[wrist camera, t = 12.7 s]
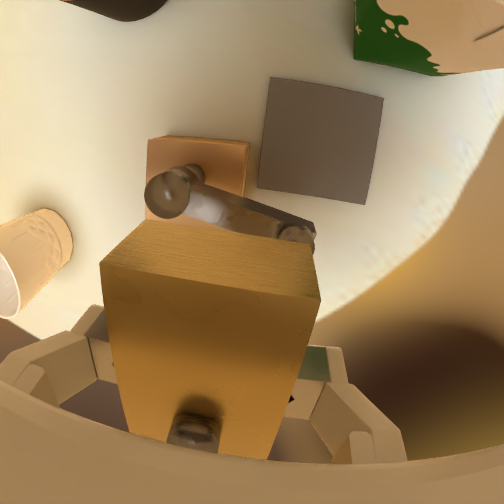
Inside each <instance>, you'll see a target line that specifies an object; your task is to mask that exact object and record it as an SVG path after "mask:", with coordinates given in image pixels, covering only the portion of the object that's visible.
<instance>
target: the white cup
mask: <svg viewBox="0 0 504 504" xmlns="http://www.w3.org/2000/svg"><path fill="white" fill-rule="evenodd" d="M72 249H73V243H72V237H71V232H70V230H69V228H68V226H67V224H66V222H65V221H64V220H63V219H62V218H61V217H60V216H59V215H58V214H57V213H56V212H55V211H52V210H49V209H46V208H44V209H40V210H37V211H34V212H32V213H30V214H27V215H23V216H20V217H18V218H16V219H13V220H11V221H9V222H7V223H4V224H2V225H0V317H1V318H4V319H12V318H14V317H16V316H17V315H18V314H19V313H20V311H21V310H22V309H23V308H24V307H25V306H26V305H27V304H28V303H29V302H30V301H31V300H32V299H33V298H34V297H35V296H36V295H37V294H38V293H39V292H40V291H41V290H42V288H43V287H44V286H45V285H46V284H47V283H48V282H49V281H50V280H51V279H52V278H53V277H54V276H55V275H56V273H57V271H58V270H59V269H60V268H61V267H62V266H63V265H64V264H65V263H66V262H67V261H68V260H69V259H70V258H71V253H72Z"/></svg>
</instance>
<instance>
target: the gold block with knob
mask: <svg viewBox="0 0 504 504" xmlns="http://www.w3.org/2000/svg"><path fill="white" fill-rule="evenodd" d="M99 265H100V275H101V285H102V293H103V302H104V309H105V316H106V323H107V330H108V336H109V342H110V348H111V353H112V358H113V364H114V369H115V374H116V378H117V383H118V388H119V392H120V396H121V401H122V405H123V409H124V413H125V417H126V421H127V424H128V428H129V432H131V433H134V434H138V435H141V436H145V437H148V438H152V439H156V440H160V441H164V442H167V443H168V444H172V445H177V446H181V447H186V448H190V449H195V450H200V451H205V452H211V453H223V454H229V455H235V456H242V457H249V458H258V459H267V457H268V455H269V452H270V450H271V447H272V445H273V442H274V439H275V437H276V434H277V431H278V429H279V426H280V423H281V421H282V418H283V416H284V413H285V410H286V407H287V405H288V402H289V399H290V396H291V393H292V390H293V388H294V385H295V382H296V379H297V376H298V373H299V370H300V367H301V364H302V361H303V358H304V355H305V352H306V349H307V345H308V342H309V339H310V336H311V333H312V329H313V326H314V323H315V320H316V316H317V313H318V310H319V306H320V303H321V297H320V292H319V287H318V281H317V276H316V271H315V265H314V260H313V255H312V250H311V245H310V244H304V243H298V242H292V241H286V240H280V239H273V238H267V237H261V236H255V235H248V234H242V233H236V232H229V231H223V230H216V229H210V228H203V227H197V226H190V225H183V224H177V223H170V222H163V221H156V220H149V219H145V220H144V221H143V222H142V223H141V224H140V225H139V226H138V227H137V228H135V229H134V230H133V231H132V232H131V233H130V234H129V235H128V236H127V237H126V238H125V239H124V240H123V241H121V242H120V243H119V244H118V245H117V246H116V247H115V248H114V249H113V250H112V251H111V252H110V253H109V254H108V255H107V256H106V257H105V258H104V259H103V260H102V261H101V262H100V263H99Z"/></svg>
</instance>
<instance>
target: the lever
mask: <svg viewBox="0 0 504 504" xmlns="http://www.w3.org/2000/svg"><path fill="white" fill-rule="evenodd" d="M144 197H145V202H146V205H147V207H148V208H149V210H150V211H151V212H152V213H153V214H154V215H156V216H158V217H160V218H163V219H172V218H175V217H178V216H179V215H181V214H185V215H188V216H191V217H194V218H196V219H199V220H202V221H205V222H208V223H211V224H214V225H217V226H219V227H222V228H225V229H228V230H231V231H234V232H237V233H242V234H248V235H255V236H261V237H267V238H273V239H280V240H286V241H292V242H298V243H304V244H310V245H311V250H312V255H313V254H314V250H315V245H314V239H315V236H316V231H315V227H314V224H313V222H310V221H308V220H305V219H302V218H300V217H297V216H294V215H292V214H289V213H286V212H283V211H281V210H278V209H275V208H273V207H270V206H267V205H264V204H261V203H259V202H256V201H253V200H250V199H247V198H244V197H242V196H239V195H236V194H233V193H230V192H227V191H224V190H221V189H218V188H216V187H213V186H210V185H207V184H204V183H201V182H199V181H198V178H197V176H196V175H195V173H194V172H193V171H192V170H190V169H189V168H187V167H184V166H174V167H171V168H169V169H167V170H165V171H164V172H162V173H160V174H158V175H156V176H154V177H153V178H152V179H150V181H149V182H148V183H147V185H146V188H145V192H144Z"/></svg>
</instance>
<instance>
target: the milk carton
mask: <svg viewBox="0 0 504 504" xmlns="http://www.w3.org/2000/svg"><path fill="white" fill-rule="evenodd" d="M354 59H355V60H361V61H367V62H372V63H378V64H383V65H388V66H392V67H397V68H401V69H406V70H410V71H414V72H418V73H422V74H426V75H429V76H446V75H452V74H459V73H465V72H473V71H480V70H489V69H498V68H504V0H354Z"/></svg>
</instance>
